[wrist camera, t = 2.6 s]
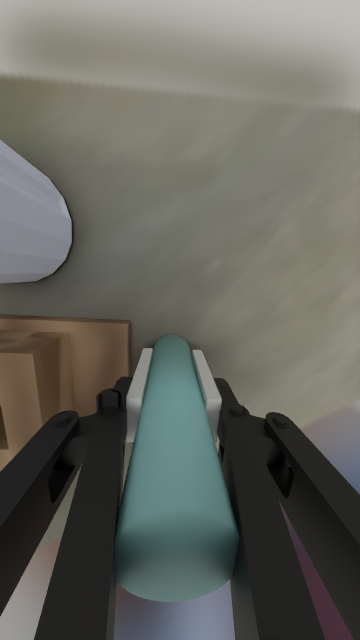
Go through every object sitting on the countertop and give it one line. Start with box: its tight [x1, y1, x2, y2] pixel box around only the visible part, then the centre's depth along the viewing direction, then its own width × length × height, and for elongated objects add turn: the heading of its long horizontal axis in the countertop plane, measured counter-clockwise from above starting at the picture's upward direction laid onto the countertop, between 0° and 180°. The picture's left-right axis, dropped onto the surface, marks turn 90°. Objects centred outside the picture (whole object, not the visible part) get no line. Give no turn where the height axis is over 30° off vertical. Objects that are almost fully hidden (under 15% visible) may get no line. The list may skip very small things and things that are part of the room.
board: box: [0, 315, 130, 472], centre depth 16 cm, size 20×12×6 cm, turn 87°
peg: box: [115, 335, 240, 602], centre depth 12 cm, size 4×4×14 cm
